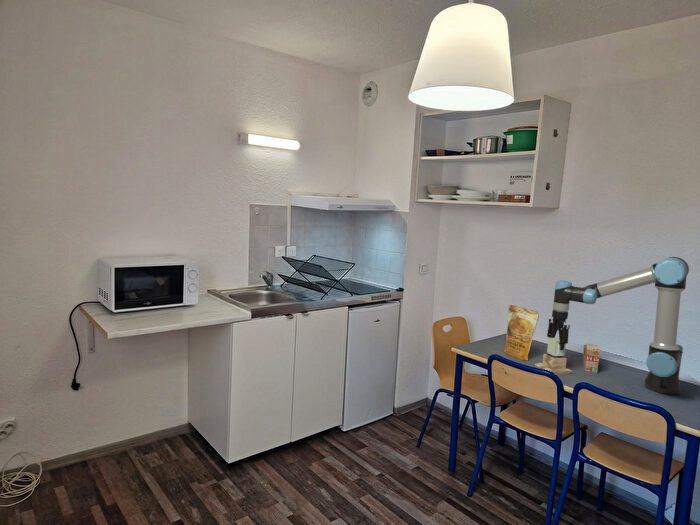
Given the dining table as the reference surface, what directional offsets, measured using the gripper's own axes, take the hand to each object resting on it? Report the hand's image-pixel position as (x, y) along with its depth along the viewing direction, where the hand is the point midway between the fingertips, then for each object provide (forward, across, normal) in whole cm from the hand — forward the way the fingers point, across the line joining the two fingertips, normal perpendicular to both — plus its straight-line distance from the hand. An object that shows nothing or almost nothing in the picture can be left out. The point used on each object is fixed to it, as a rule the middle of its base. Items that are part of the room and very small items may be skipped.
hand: (555, 353), depth 251 cm
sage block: (0, 0, 0) cm, 0 cm away
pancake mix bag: (+9, +22, +8) cm, 25 cm away
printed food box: (+9, +3, -25) cm, 27 cm away
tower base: (+9, 0, 0) cm, 9 cm away
